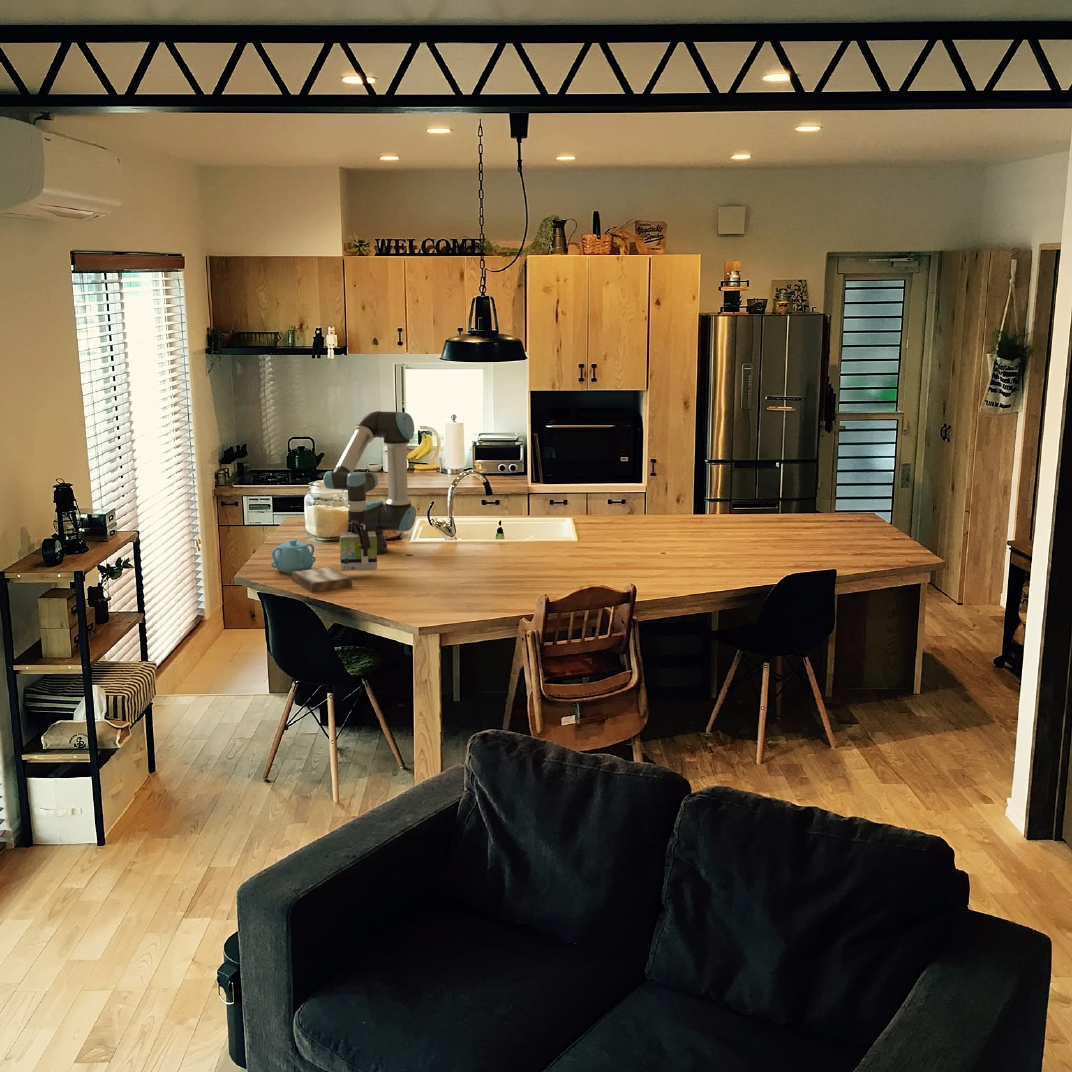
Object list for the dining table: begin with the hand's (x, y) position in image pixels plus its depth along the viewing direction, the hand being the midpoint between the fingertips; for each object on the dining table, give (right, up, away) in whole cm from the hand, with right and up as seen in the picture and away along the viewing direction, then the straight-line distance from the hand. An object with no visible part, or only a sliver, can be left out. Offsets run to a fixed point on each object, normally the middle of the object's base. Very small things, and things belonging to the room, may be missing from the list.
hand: (358, 560), depth 478 cm
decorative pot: (-29, -5, +9) cm, 31 cm away
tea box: (0, -4, +1) cm, 4 cm away
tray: (-13, -10, -12) cm, 20 cm away
